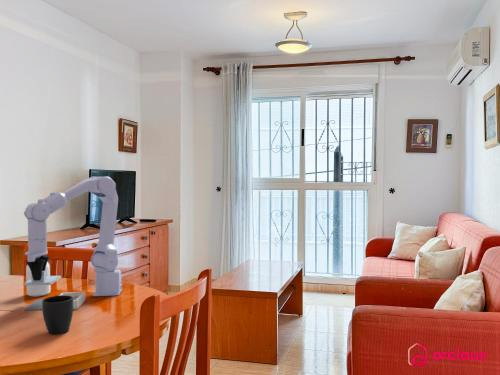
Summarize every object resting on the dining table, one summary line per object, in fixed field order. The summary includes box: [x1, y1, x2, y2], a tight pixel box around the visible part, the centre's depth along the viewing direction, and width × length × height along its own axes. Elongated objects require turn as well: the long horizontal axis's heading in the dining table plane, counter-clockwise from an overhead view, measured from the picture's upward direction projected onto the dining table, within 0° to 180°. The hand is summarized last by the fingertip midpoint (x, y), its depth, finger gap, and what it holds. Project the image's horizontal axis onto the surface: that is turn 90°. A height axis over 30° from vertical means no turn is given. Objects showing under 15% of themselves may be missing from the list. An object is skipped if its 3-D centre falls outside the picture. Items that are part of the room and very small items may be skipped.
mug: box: [41, 294, 74, 336], centre depth 139 cm, size 8×12×10 cm
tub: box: [58, 291, 86, 311], centre depth 165 cm, size 8×12×3 cm, turn 6°
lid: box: [23, 271, 62, 287], centre depth 165 cm, size 9×13×4 cm
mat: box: [23, 298, 44, 312], centre depth 166 cm, size 8×13×1 cm, turn 6°
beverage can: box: [25, 261, 51, 298], centre depth 180 cm, size 8×8×12 cm
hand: (38, 279), depth 161 cm, fingers closed on lid, 2 cm apart
